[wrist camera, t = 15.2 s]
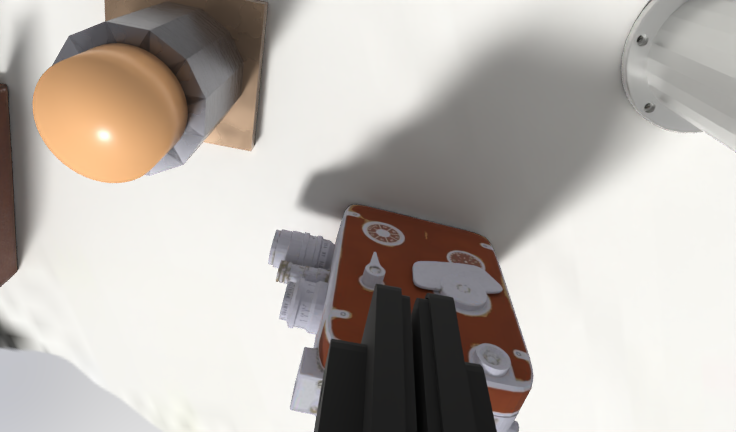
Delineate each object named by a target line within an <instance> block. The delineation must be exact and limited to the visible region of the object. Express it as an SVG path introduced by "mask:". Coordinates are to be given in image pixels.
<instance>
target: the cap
mask: <svg viewBox="0 0 736 432" xmlns="http://www.w3.org/2000/svg"><path fill="white" fill-rule="evenodd" d="M33 115H34V120H35V123H36V126H37V129H38V131H39V133H40V136H41V137H42V139H43V141H44V142H45V144H46V145H47V147H48V148H49V149H50V151H51V152H52V153H53V154H54V155H55V156H56V157H57V158H58V159H59V160H60V161H61V162H62V163H63V164H65V165H66V166H67V167H69V168H70V169H72V170H73V171H75V172H77V173H78V174H81V175H83V176H85V177H87V178H90V179H93V180H96V181H101V182H107V183H122V182H128V181H132V180H135V179H137V178H140V177H141V176H143V175H145V174H146V173H147V172H149V171H150V170H151V169H152V168H153V167H154V166H155V165H156V164H157V163H158V162H159V161H160V160H161V159H162V158H163V157H164V156H165V155H166V154H167V153H168V152H169V151H170V150H171V149H172V148H173V147H174V146H175V145H176V143H177V142H178V141H179V140H180V138H181V137H182V135H183V133H184V131H185V128H186V124H187V118H188V107H187V101H186V97H185V94H184V91H183V89H182V87H181V84H180V83H179V81H178V79H177V78H176V76H175V75H174V74H173V72H172V71H171V70H170V69H169V68H168V66H167V65H166V64H165V63H163V62H162V61H161V60H160V59H159V58H157V57H156V56H154V55H153V54H151V53H150V52H148V51H146V50H144V49H141V48H139V47H136V46H133V45H129V44H123V43H110V44H104V45H100V46H97V47H95V48H92V49H90V50H87V51H85V52H82V53H80V54H77V55H75V56H72V57H70V58H67V59H65V60H62V61H60V62H58V63H56V64H54V65H53V66H51V67H50V68H49V69H48V70H47V71H46V72H45V73H44V74H43V75H42V76H41V78H40V79H39V81H38V83H37V85H36V87H35V91H34V95H33Z"/></svg>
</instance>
